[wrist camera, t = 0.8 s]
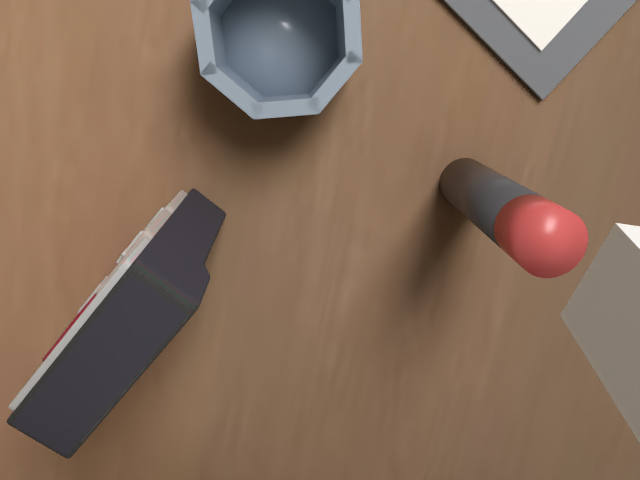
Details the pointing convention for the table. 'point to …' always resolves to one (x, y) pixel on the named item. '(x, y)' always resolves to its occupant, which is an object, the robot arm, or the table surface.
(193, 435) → the table surface
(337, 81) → the pen cup
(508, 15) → the writing pad
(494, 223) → the marker
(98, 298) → the grey and red block
